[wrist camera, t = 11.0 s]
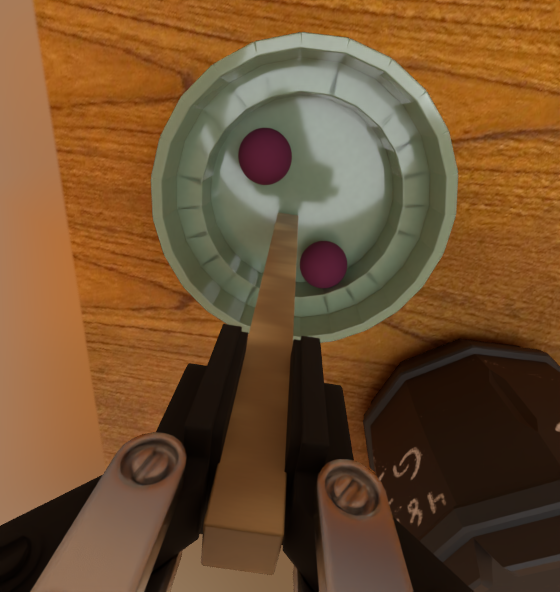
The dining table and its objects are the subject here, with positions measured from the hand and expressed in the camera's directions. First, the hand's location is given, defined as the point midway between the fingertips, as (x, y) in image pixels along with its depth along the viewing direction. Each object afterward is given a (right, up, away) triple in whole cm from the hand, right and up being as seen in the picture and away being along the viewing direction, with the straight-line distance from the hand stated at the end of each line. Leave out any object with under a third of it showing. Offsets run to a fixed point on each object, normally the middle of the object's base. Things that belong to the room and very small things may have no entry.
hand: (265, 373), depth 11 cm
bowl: (+2, +9, +14) cm, 17 cm away
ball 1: (0, +11, +11) cm, 15 cm away
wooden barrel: (+17, -8, +21) cm, 28 cm away
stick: (0, +2, +4) cm, 5 cm away
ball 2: (+3, +4, +13) cm, 14 cm away
